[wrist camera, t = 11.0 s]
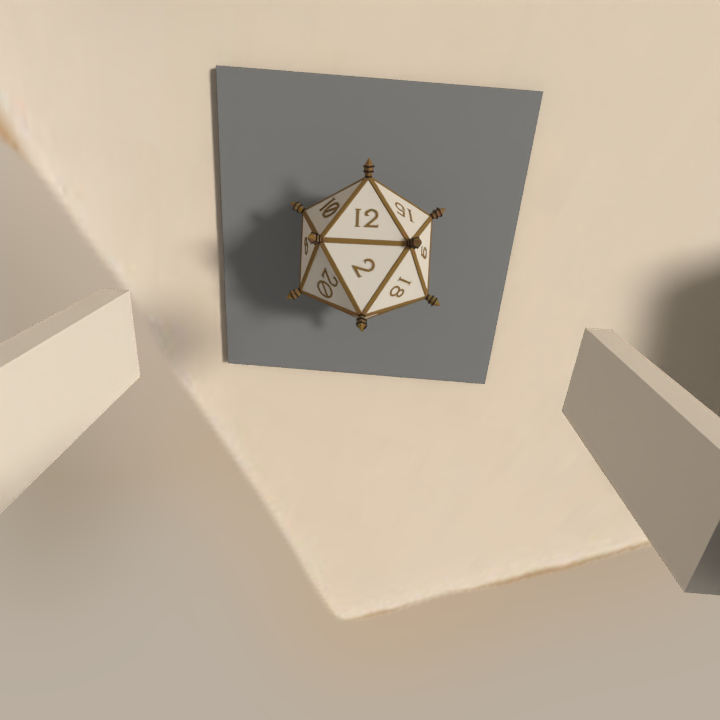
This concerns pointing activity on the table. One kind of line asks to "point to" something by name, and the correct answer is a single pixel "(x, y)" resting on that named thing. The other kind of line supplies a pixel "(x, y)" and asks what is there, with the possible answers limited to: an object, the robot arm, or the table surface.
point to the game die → (365, 250)
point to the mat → (394, 170)
